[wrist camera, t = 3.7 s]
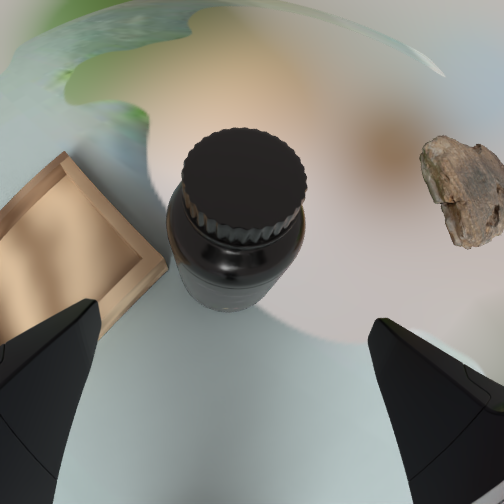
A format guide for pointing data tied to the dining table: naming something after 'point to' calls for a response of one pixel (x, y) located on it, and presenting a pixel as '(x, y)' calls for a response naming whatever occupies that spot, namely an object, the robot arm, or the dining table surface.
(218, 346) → the dining table surface
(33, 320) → the oak tray
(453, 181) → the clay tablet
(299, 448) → the dining table surface
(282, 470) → the dining table surface
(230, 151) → the supplement bottle
